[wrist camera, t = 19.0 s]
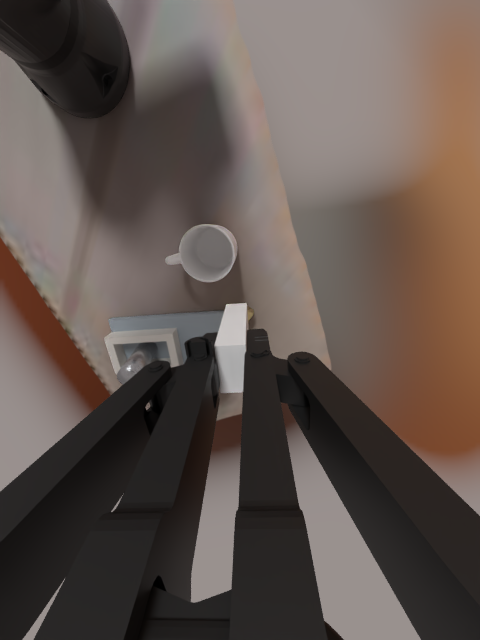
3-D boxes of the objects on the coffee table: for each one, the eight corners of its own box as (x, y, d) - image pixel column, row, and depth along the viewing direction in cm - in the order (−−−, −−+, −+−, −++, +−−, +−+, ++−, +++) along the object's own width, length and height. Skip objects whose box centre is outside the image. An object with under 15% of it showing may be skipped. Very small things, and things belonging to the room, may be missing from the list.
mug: (181, 277, 46) (163, 290, 37) (169, 233, 43) (146, 235, 34) (241, 266, 45) (239, 277, 36) (233, 220, 42) (228, 218, 33)
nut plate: (111, 317, 50) (79, 338, 41) (223, 310, 48) (217, 329, 39) (130, 380, 56) (106, 411, 46) (231, 375, 54) (227, 406, 45)
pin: (135, 343, 50) (112, 371, 41) (151, 337, 50) (132, 365, 41) (144, 358, 52) (124, 388, 43) (160, 352, 51) (144, 382, 42)
